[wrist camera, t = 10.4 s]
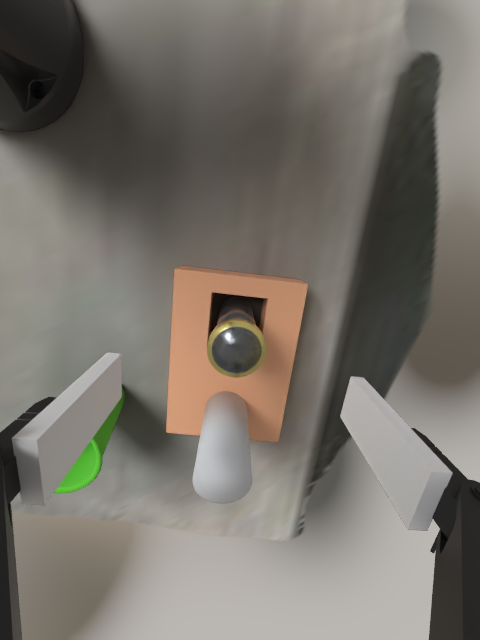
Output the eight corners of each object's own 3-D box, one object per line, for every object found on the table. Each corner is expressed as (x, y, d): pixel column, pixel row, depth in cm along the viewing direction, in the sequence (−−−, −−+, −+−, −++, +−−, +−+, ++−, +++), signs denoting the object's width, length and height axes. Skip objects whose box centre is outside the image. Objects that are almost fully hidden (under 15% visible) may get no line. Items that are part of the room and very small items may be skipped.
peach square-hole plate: (182, 265, 31) (141, 281, 18) (299, 279, 32) (346, 305, 18) (173, 412, 37) (137, 510, 23) (273, 422, 37) (295, 522, 24)
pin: (218, 291, 32) (209, 318, 21) (258, 296, 32) (270, 325, 21) (215, 329, 33) (204, 374, 22) (252, 333, 34) (262, 380, 22)
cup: (147, 373, 35) (109, 429, 24) (132, 429, 37) (91, 503, 27) (78, 354, 34) (7, 403, 24) (67, 412, 36) (-2, 481, 26)
